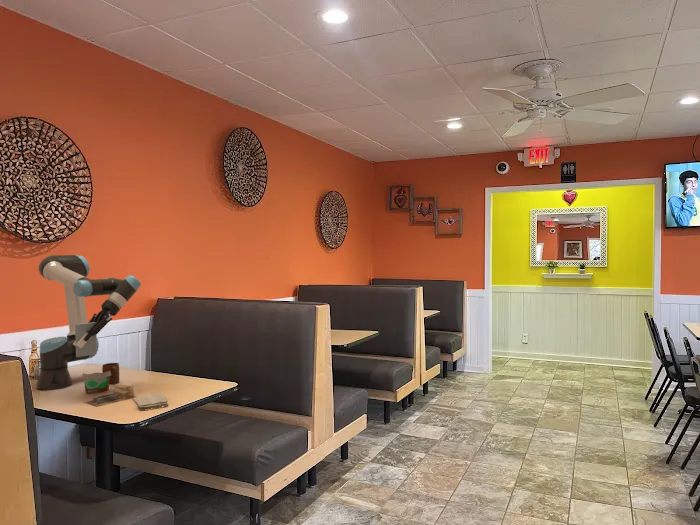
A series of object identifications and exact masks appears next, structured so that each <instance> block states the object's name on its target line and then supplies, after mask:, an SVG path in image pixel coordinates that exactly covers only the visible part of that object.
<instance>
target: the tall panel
mask: <svg viewBox="0 0 700 525" xmlns="http://www.w3.org/2000/svg"><path fill="white" fill-rule="evenodd" d="M95 323H96V322H92V323H82V324H75V334H76V344H77V343H78V341H79V340H80V339H81V338H82V337H83V336H84V335H85V334H86V333H88V332H87V331H89V330H90V329H91V328H92V327H93V325H94V324H95ZM96 337H97V335H94V336H92V337H91V338H90V339H89V340H88V341H87V342H86V344H85V345H84V346H83V347H82V348H79V347H78V346H77V345H76V357H82V356H88V355H94V354H96V355H97V353H98V351H97V342H96Z"/></svg>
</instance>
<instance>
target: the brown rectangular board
mask: <svg viewBox="0 0 700 525" xmlns="http://www.w3.org/2000/svg"><path fill="white" fill-rule="evenodd" d="M135 397H137V396H135V395H134V397H131V398H126V399H121V398H119V394H116V395H115V393H114V392H112V393H106V394H103V395H99V396H93V397H92V400H88V401H84V402H82V403H84V404H86V405H89V406H92V407H95V408H97V407H102V406H107V405H111V404H114V403H119V402H123V401H127V400H131V399H132V400H133V398H135Z"/></svg>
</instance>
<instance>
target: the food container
mask: <svg viewBox="0 0 700 525" xmlns="http://www.w3.org/2000/svg"><path fill="white" fill-rule="evenodd" d="M110 375H111V372H110V371H108V372H105V373H102V372H93V373H84V372H82V375H81V378H82V379H83V383H84V384H83V385H84V390H85V394H87V395H92V394H93V395H95V394H96V395H97V394H102V393H106V392H108V391H110V389H109V388H110V385H109V380H110Z"/></svg>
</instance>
